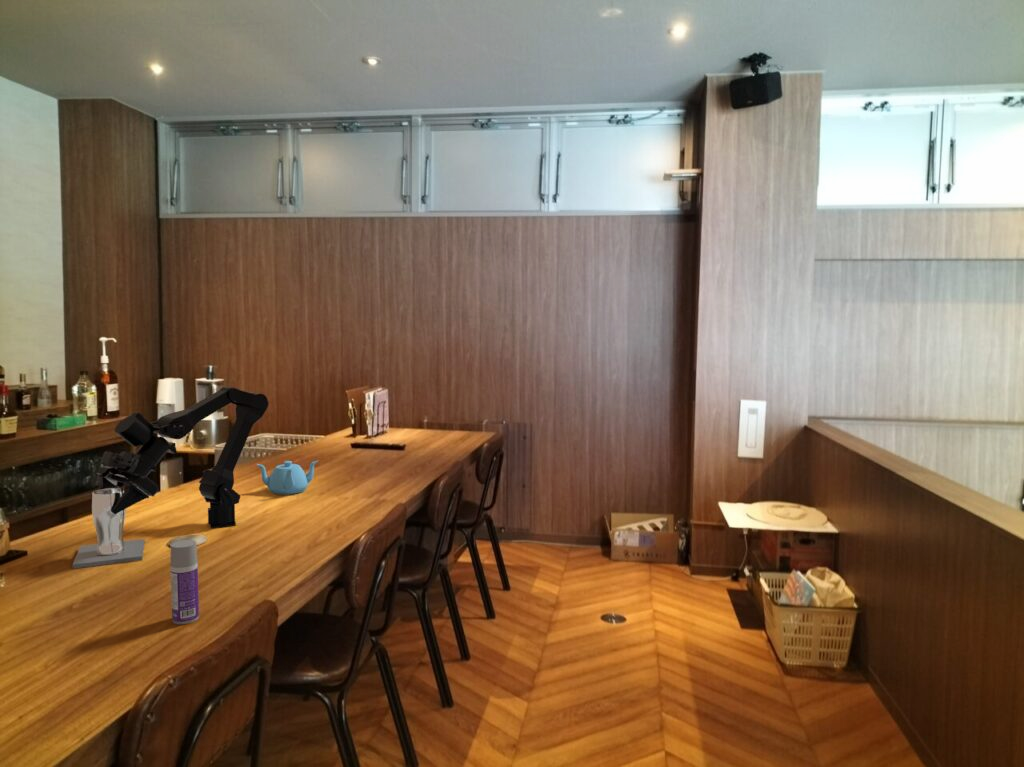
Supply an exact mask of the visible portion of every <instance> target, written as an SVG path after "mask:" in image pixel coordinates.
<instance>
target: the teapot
mask: <svg viewBox="0 0 1024 767" xmlns="http://www.w3.org/2000/svg"><path fill="white" fill-rule="evenodd" d="M318 462H319V460H315V461H312V462H311V463H310V465H309V469H308V470H309V471H308V473H307V474H306V472H305V471H304V469H303V468H302V467H301V465H300V464H296V463H293V461H291V460H285V461H283V464H279V465H276V466H275V468H274V469H273V471H272V472H271V474H270V476H268V475H267V468H266V467H265V465H263V464H259V463H256V466H257V467H259V468H260V472H261V480H262V483H263V484H264V485H265V486H267V488H268V490H269V491H270V492H271V494H275V495H280V496H281V495H282V496H284V495H285V496H286V495H295V494H300V493H303V492H304V491H305V490H306V489H307V488H308V487H309V483H310V482H311V483H312V481H313V478H314V475H315V474H314V473H315V472H314V471H315V466H316V464H317V463H318Z"/></svg>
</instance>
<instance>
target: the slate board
mask: <svg viewBox="0 0 1024 767" xmlns="http://www.w3.org/2000/svg"><path fill="white" fill-rule="evenodd" d="M123 541H124V545H125V550H124V551H123V552H121V553H118V554H114V555H107V556H101V555H97V554H96V548H97V543H95V544H87V545H80V546H79V549H78V551H77V553H76V556H75V558H74V560H73V563H72V569H74V570H75V569H76V570H77V569H82V568H84V569H85V568H90V567H99V565H100V566H106V564H108V565H113V564H115V563H116V564H121V563H122V564H123V562H124V563H129V561H132V562H137V560H140V561H143V558H144V552H143V551H144V550H145V545H144V544H146V543H145V542H146V540H145V538H140V539H138V538H137V539H131V540H130V539H129V540H123ZM116 564H115V565H116Z"/></svg>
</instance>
